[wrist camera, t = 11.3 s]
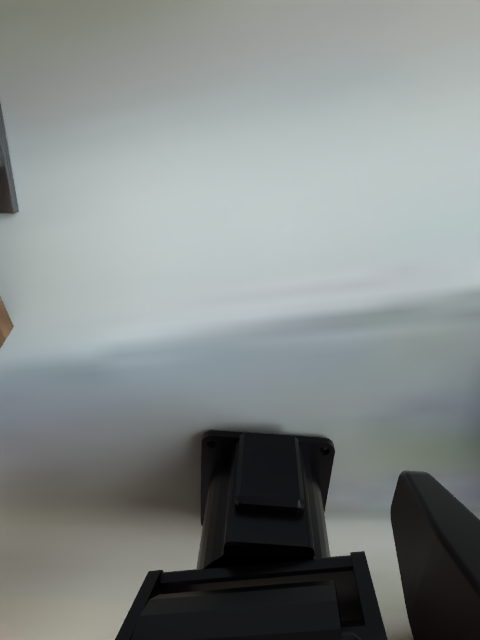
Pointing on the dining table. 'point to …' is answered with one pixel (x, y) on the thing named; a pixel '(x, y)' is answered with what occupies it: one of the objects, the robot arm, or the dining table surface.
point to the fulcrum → (6, 175)
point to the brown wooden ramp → (4, 323)
